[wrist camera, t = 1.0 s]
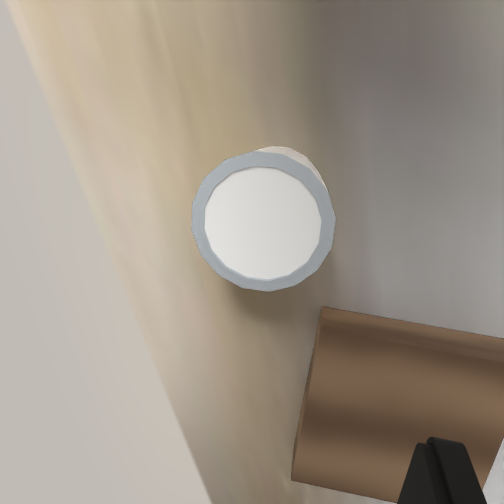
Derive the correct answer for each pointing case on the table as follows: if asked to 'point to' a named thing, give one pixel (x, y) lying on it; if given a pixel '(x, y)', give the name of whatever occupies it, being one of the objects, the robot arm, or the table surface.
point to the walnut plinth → (394, 401)
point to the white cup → (264, 219)
